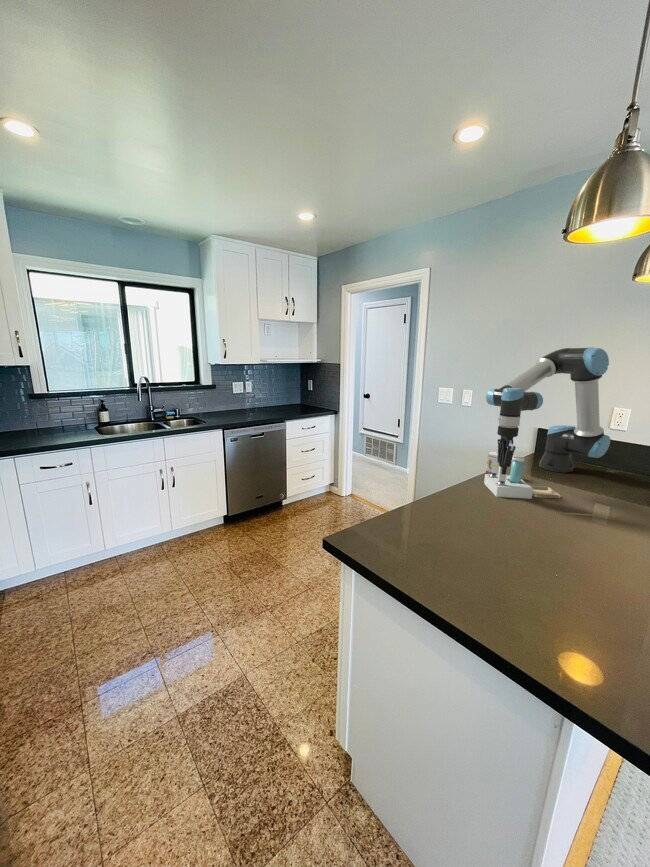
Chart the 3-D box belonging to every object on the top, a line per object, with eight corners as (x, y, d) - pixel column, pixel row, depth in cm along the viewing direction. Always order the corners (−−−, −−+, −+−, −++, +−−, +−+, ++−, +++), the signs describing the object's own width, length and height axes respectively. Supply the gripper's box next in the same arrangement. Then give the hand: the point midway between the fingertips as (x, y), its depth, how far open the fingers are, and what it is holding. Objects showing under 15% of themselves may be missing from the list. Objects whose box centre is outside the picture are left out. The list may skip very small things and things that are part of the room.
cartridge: (505, 488, 156) (510, 454, 152) (517, 489, 155) (522, 454, 152) (510, 492, 151) (514, 457, 148) (521, 493, 150) (526, 457, 147)
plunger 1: (488, 483, 160) (489, 472, 159) (494, 483, 160) (495, 472, 159) (490, 485, 158) (491, 474, 156) (496, 485, 157) (497, 474, 156)
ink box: (484, 476, 174) (487, 453, 171) (487, 473, 177) (490, 451, 175) (503, 480, 168) (506, 456, 166) (505, 477, 172) (508, 454, 169)
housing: (483, 484, 162) (485, 474, 161) (515, 486, 160) (517, 475, 159) (496, 498, 147) (497, 486, 145) (531, 499, 145) (533, 488, 144)
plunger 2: (495, 491, 150) (497, 480, 149) (502, 492, 150) (503, 480, 149) (498, 494, 148) (499, 482, 147) (504, 494, 148) (506, 482, 146)
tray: (524, 489, 156) (524, 485, 156) (548, 490, 155) (548, 486, 155) (534, 498, 147) (535, 494, 146) (560, 499, 145) (560, 495, 145)
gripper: (493, 422, 149) (487, 475, 154) (504, 428, 137) (497, 485, 142) (511, 423, 148) (505, 476, 154) (525, 429, 136) (517, 486, 141)
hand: (501, 480), depth 148 cm, fingers closed
